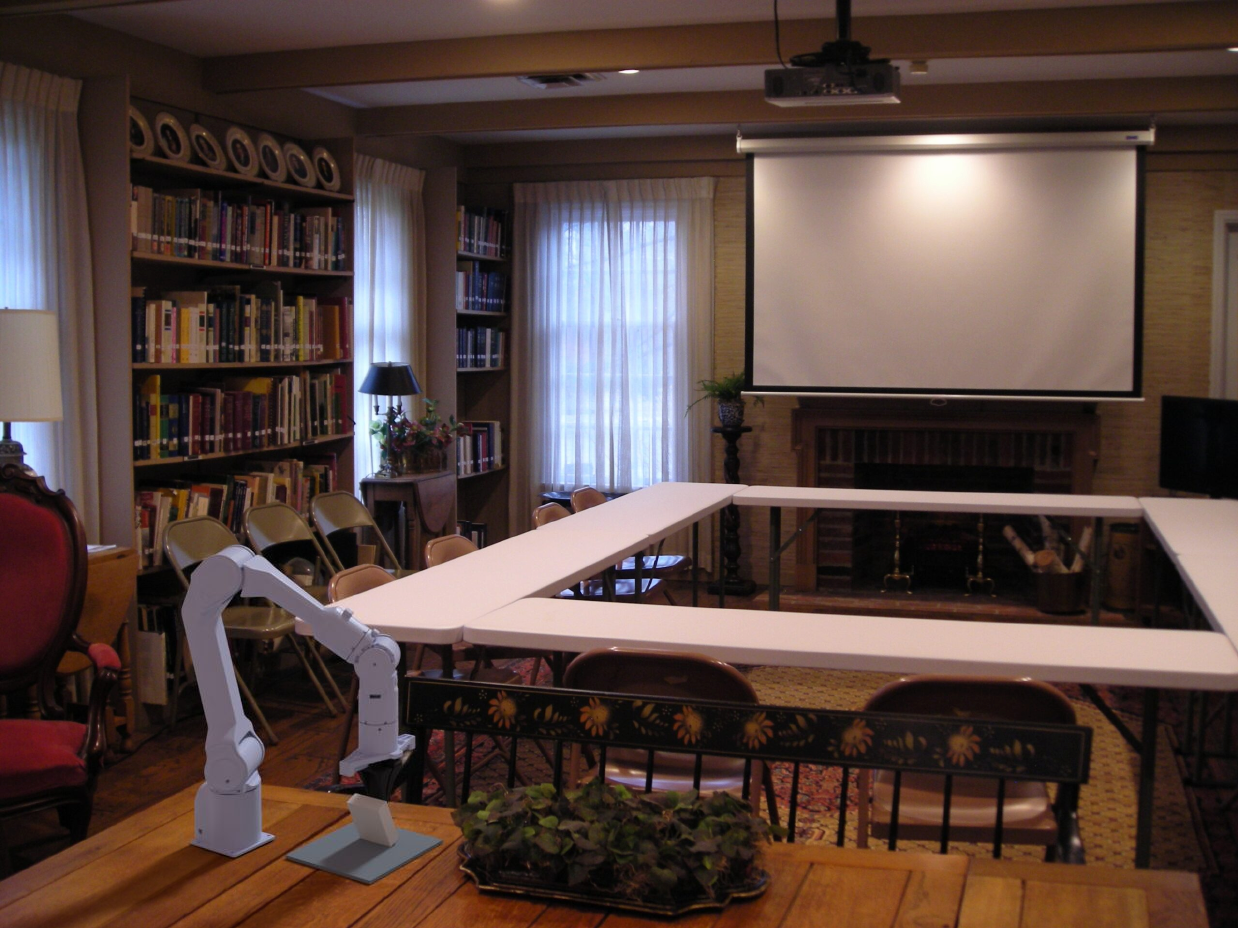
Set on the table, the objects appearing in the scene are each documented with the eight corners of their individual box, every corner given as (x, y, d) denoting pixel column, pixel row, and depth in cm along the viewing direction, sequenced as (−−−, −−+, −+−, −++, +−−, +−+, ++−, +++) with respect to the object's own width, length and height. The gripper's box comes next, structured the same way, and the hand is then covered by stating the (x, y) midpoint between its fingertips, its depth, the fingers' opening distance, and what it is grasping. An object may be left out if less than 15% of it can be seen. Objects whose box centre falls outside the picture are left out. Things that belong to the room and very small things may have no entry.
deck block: (359, 837, 174) (346, 802, 171) (368, 828, 175) (355, 793, 172) (390, 846, 171) (378, 810, 168) (398, 837, 172) (386, 801, 169)
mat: (285, 858, 168) (285, 854, 167) (361, 820, 181) (361, 817, 181) (370, 884, 160) (370, 880, 160) (442, 842, 174) (442, 839, 174)
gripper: (365, 737, 163) (366, 830, 164) (430, 710, 176) (430, 797, 177) (328, 728, 167) (328, 820, 168) (394, 703, 179) (394, 788, 180)
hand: (378, 808), depth 173 cm, fingers closed
